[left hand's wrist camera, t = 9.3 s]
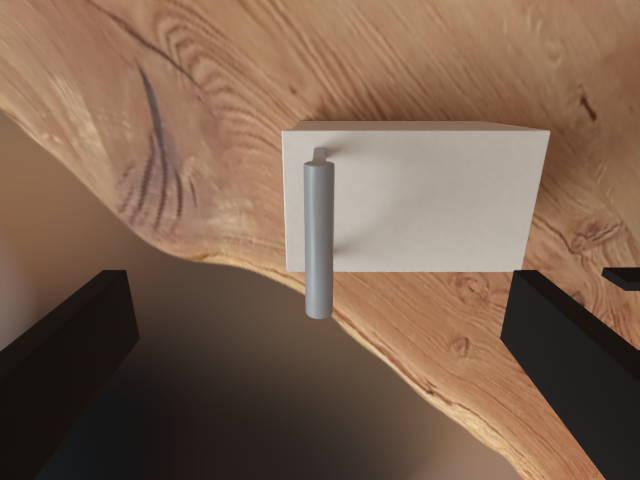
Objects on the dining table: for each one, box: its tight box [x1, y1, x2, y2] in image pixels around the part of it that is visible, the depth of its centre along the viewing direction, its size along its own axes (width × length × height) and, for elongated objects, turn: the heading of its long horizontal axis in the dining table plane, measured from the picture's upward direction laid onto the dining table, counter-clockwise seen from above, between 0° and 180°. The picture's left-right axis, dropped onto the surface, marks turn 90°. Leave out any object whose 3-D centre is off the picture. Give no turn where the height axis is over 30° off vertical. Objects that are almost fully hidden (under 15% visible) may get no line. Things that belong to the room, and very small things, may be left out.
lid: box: [282, 129, 551, 319], centre depth 21 cm, size 16×10×8 cm, turn 90°
